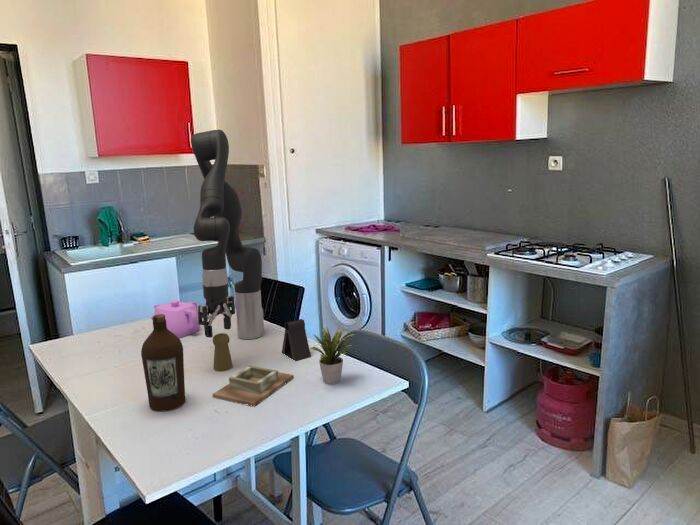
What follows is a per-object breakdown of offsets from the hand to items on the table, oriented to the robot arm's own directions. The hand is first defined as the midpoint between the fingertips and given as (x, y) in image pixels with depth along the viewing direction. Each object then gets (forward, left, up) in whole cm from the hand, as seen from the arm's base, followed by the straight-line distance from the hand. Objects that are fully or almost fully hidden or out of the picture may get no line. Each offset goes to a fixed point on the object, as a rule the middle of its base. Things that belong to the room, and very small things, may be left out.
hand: (218, 333), depth 168 cm
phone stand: (-18, +17, -12) cm, 27 cm away
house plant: (-4, +38, -12) cm, 39 cm away
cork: (0, +1, -12) cm, 12 cm away
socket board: (+8, +19, -12) cm, 23 cm away
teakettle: (-20, -38, -12) cm, 45 cm away
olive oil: (+26, +3, -12) cm, 28 cm away
